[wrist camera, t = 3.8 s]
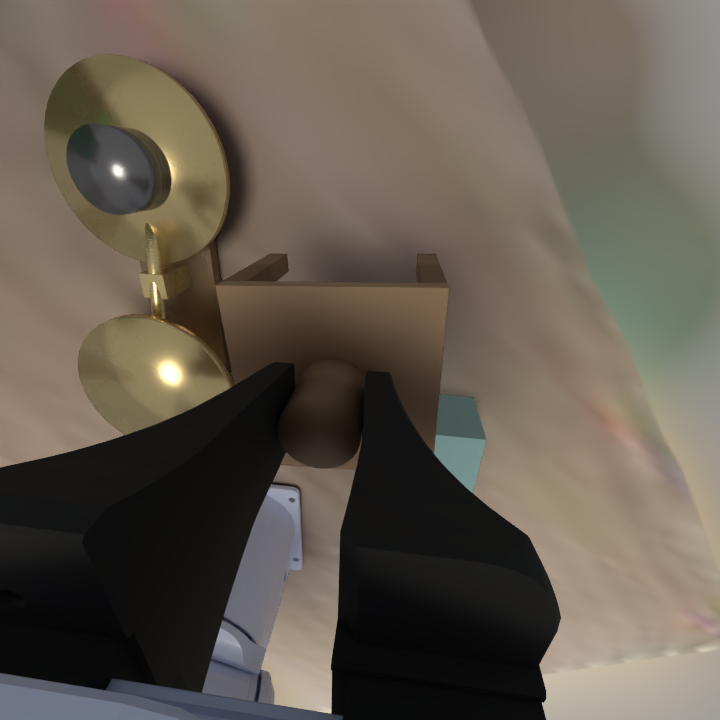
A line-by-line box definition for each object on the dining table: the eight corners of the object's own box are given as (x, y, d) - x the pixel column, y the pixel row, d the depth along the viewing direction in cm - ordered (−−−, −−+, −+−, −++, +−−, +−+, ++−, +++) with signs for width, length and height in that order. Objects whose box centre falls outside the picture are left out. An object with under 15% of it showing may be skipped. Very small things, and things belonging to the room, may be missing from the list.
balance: (267, 410, 25) (239, 459, 20) (152, 398, 25) (103, 444, 21) (237, 71, 16) (179, 40, 12) (65, 66, 17) (-46, 34, 13)
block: (462, 447, 24) (472, 495, 21) (401, 441, 25) (400, 487, 21) (473, 396, 23) (486, 439, 19) (407, 390, 23) (407, 431, 19)
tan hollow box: (425, 399, 17) (437, 533, 11) (287, 393, 18) (220, 516, 11) (435, 254, 14) (461, 318, 8) (269, 253, 15) (167, 312, 9)
